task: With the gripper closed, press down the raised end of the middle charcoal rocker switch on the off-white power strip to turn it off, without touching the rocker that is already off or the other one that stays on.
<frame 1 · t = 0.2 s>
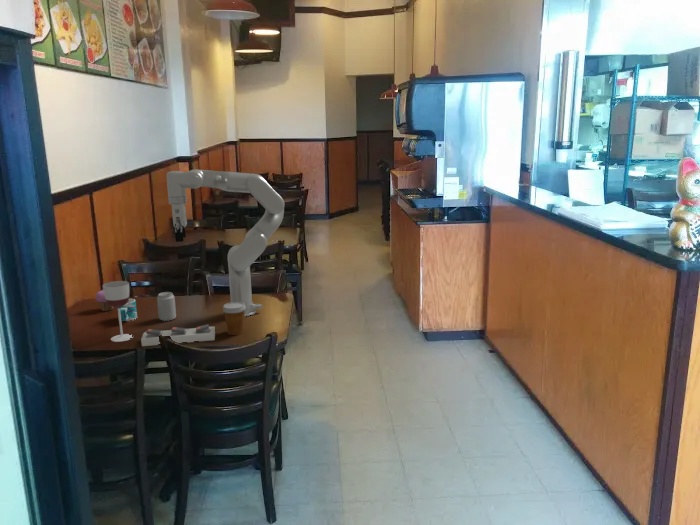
hand: (180, 239, 250), 36 cm above the table, tool pointing down, fingers open, 9 cm apart
cupcake: (107, 310, 272), on the table
disposable coffee cup: (235, 332, 240), on the table
can: (167, 319, 258), on the table
power strip: (179, 339, 233), on the table
rocker 1: (153, 331, 229), point 5 cm above the table, hinge at -12.0°
rocker middle: (178, 329, 230), point 5 cm above the table, hinge at -12.0°
rocker 2: (202, 327, 232), point 5 cm above the table, hinge at 12.0°
wineglass: (122, 338, 236), on the table
mug: (126, 320, 257), on the table
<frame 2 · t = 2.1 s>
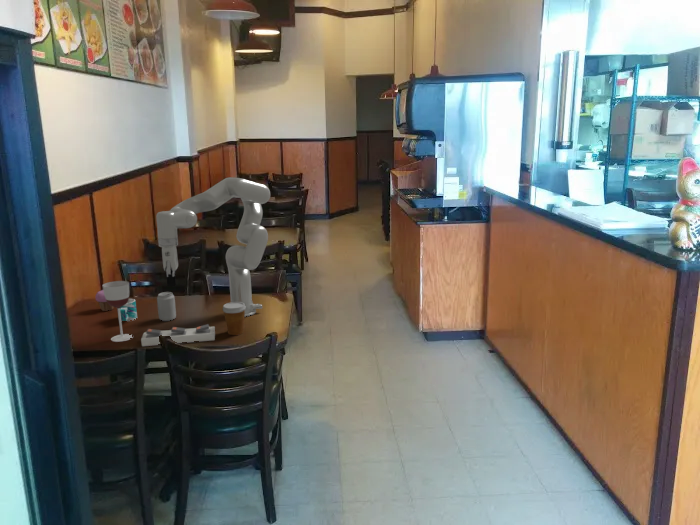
hand: (171, 285, 236), 21 cm above the table, tool pointing down, fingers closed
nothing on the table moved.
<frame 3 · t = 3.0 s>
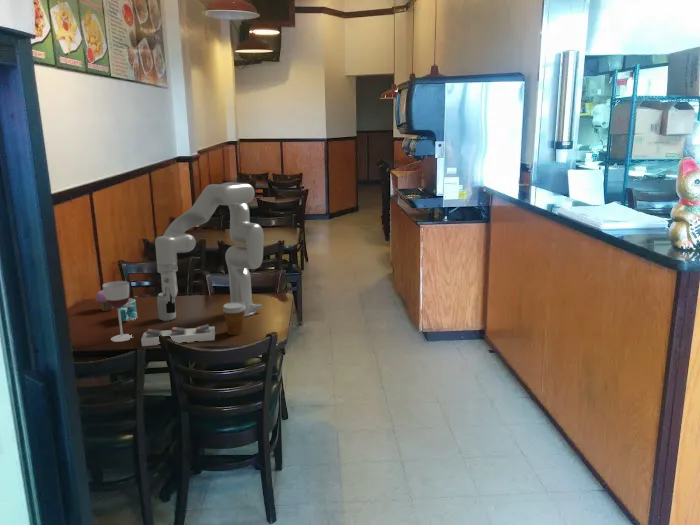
hand: (171, 312, 228), 12 cm above the table, tool pointing down, fingers closed
nothing on the table moved.
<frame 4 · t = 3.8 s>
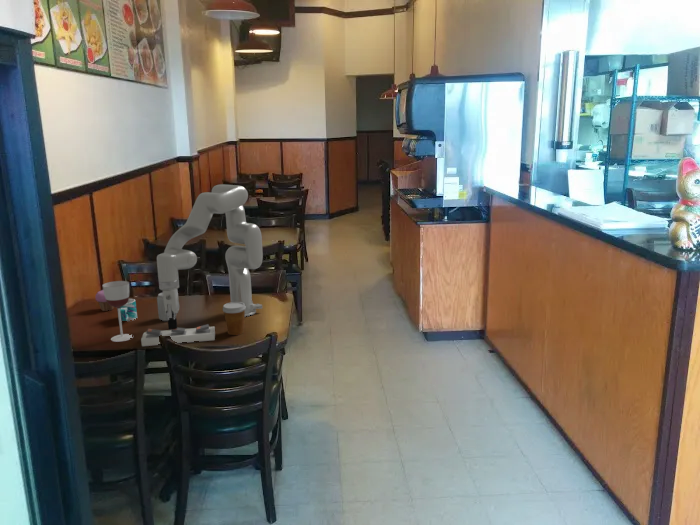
hand: (172, 328, 230), 5 cm above the table, tool pointing down, fingers closed
rocker middle: (178, 329, 230), point 5 cm above the table, hinge at -12.0°, touching gripper
everything else where it was.
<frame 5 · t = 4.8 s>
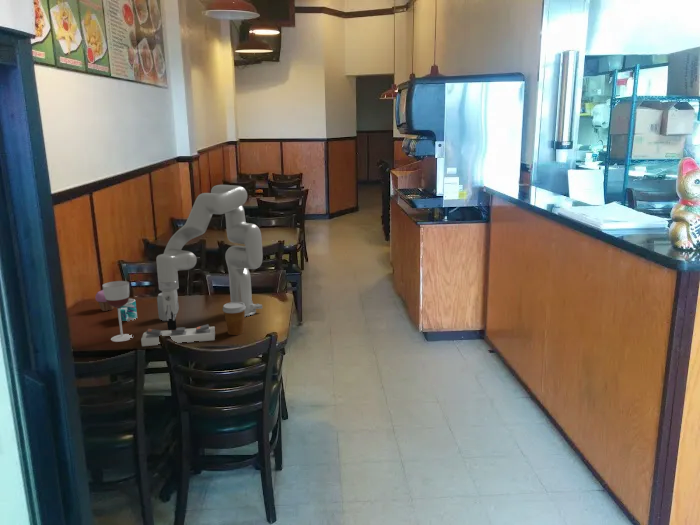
hand: (172, 329, 230), 5 cm above the table, tool pointing down, fingers closed
rocker middle: (178, 329, 230), point 5 cm above the table, hinge at 0.1°, touching gripper
everything else where it was.
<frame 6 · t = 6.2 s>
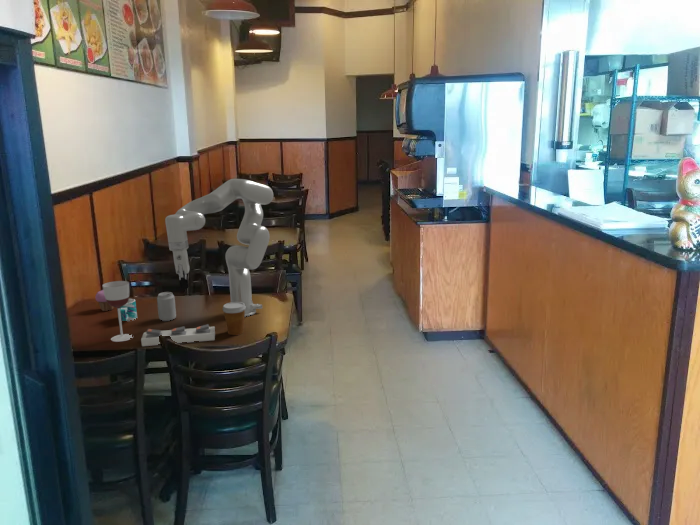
hand: (184, 287, 237), 19 cm above the table, tool pointing down, fingers closed
rocker middle: (178, 329, 230), point 5 cm above the table, hinge at 9.3°
everything else where it was.
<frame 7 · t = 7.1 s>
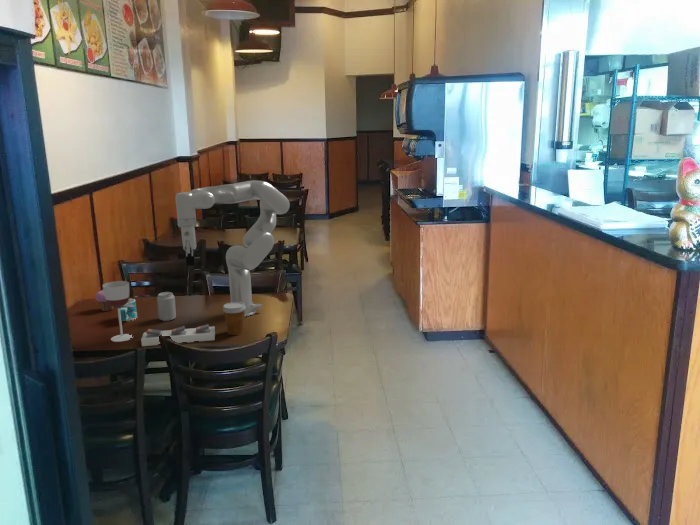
hand: (190, 264, 242), 27 cm above the table, tool pointing down, fingers closed
rocker middle: (178, 329, 230), point 5 cm above the table, hinge at 13.5°
everything else where it was.
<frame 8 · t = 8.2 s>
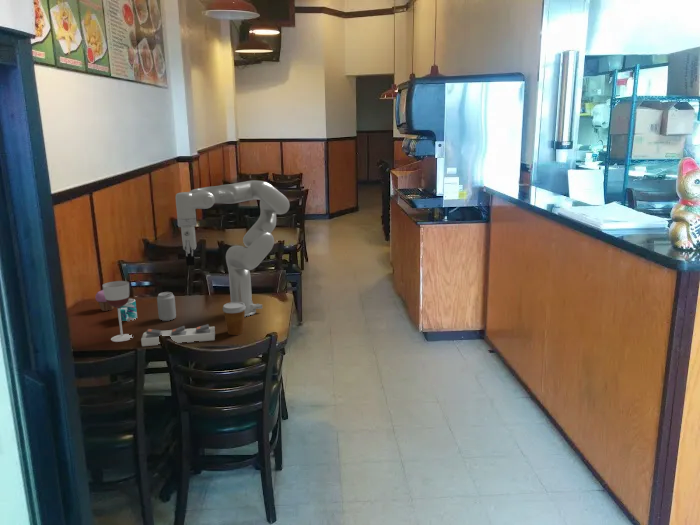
hand: (190, 264, 242), 27 cm above the table, tool pointing down, fingers closed
rocker middle: (178, 329, 230), point 5 cm above the table, hinge at 17.4°
everything else where it was.
at the end: rocker middle at +17° (first picture: -12°); rocker 2 at +12° (first picture: +12°); rocker 1 at -12° (first picture: -12°) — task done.
